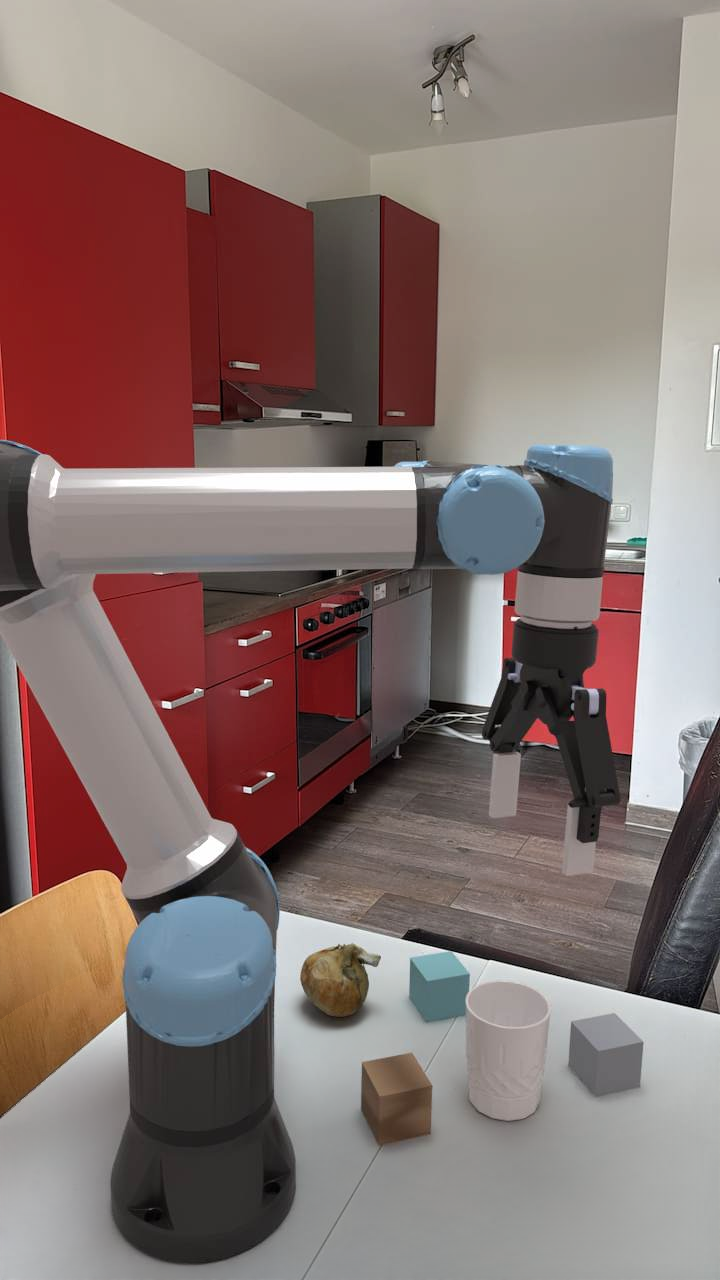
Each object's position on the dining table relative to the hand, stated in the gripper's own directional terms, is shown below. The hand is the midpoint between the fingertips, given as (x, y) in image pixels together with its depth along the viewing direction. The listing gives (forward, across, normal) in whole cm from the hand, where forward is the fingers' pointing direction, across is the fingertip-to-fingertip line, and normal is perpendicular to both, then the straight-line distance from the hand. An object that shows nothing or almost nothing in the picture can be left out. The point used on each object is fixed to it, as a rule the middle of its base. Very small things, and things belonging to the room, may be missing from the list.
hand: (537, 842), depth 90 cm
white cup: (+25, -2, +3) cm, 25 cm away
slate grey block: (+24, -3, -8) cm, 26 cm away
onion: (+25, +17, +13) cm, 33 cm away
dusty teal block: (+25, +13, +2) cm, 28 cm away
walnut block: (+25, -2, +14) cm, 29 cm away
